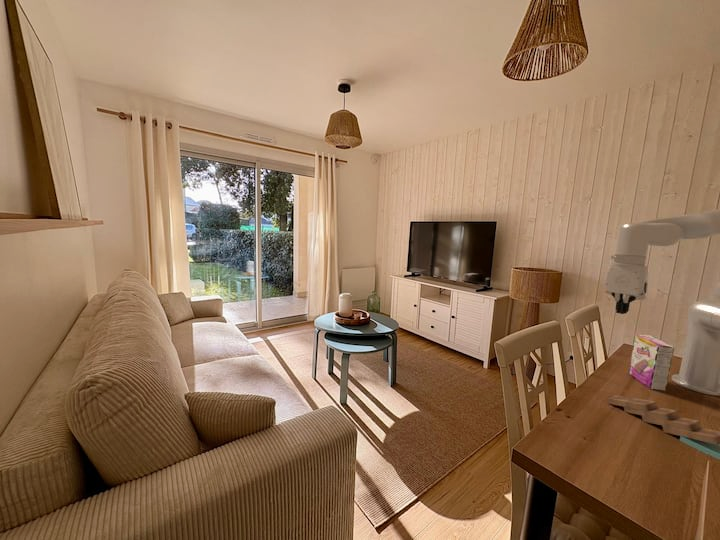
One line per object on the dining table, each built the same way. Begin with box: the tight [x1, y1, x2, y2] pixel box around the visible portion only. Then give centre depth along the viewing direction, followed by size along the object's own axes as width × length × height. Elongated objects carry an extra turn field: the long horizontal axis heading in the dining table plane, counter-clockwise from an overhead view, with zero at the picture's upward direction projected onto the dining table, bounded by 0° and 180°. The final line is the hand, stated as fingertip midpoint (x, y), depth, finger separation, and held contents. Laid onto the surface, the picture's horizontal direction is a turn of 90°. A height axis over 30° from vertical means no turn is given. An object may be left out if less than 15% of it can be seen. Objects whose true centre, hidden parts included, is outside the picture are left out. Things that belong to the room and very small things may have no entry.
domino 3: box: [641, 415, 702, 432], centre depth 80 cm, size 5×2×10 cm
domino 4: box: [661, 425, 720, 445], centre depth 75 cm, size 5×2×10 cm
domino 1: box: [606, 394, 658, 411], centre depth 88 cm, size 5×2×10 cm
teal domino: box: [679, 436, 720, 460], centre depth 72 cm, size 5×2×10 cm
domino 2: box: [623, 406, 679, 421], centre depth 84 cm, size 5×2×10 cm
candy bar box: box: [628, 333, 675, 392], centre depth 104 cm, size 11×5×16 cm, turn 168°
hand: (621, 312), depth 99 cm, fingers closed
